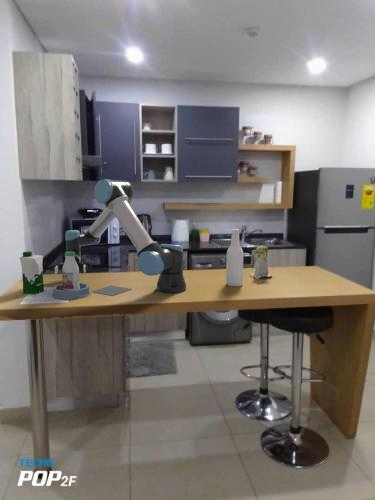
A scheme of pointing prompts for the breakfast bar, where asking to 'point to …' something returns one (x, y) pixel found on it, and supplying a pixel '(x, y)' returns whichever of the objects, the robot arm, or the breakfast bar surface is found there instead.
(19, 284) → the breakfast bar surface
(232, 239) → the alcohol
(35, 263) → the milk carton
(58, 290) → the bowl
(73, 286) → the milk bottle
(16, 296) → the breakfast bar surface
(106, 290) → the mat
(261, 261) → the figurine
